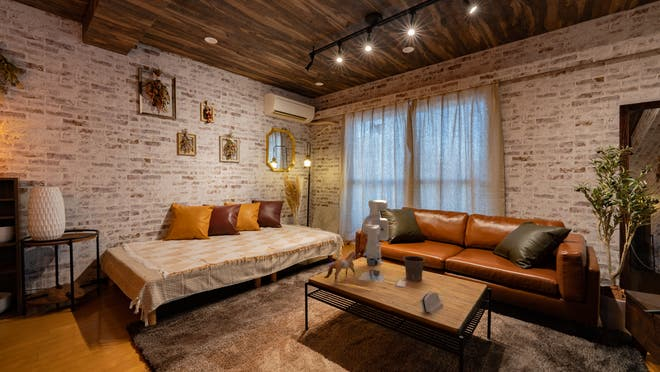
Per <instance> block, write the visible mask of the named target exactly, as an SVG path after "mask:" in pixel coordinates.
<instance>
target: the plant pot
mask: <svg viewBox="0 0 660 372" xmlns="http://www.w3.org/2000/svg"><path fill="white" fill-rule="evenodd" d="M403 261H404V262H403V263H404V267H405V278H406V279H407V280H409V281H411V282H420V281H422V280H423V271H424V265H425V258H424V257H421V256H416V255H407V256H403Z"/></svg>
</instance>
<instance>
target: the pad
mask: <svg viewBox="0 0 660 372" xmlns="http://www.w3.org/2000/svg"><path fill="white" fill-rule="evenodd" d="M407 283H408V281H407V280H399V279H398V280H397V281H396V284H395V285H394V287H397V288H398V287H399V288H403V289H405V288H406V286H407Z"/></svg>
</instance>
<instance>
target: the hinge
mask: <svg viewBox="0 0 660 372" xmlns="http://www.w3.org/2000/svg"><path fill="white" fill-rule="evenodd" d="M420 303H421V307H422V312H423V313H429V315H432V314H434V313H436V312H437V311H438V310H440V309H442V308H443V307H444V303H443V302H442V301H441V298H440V296H439V293H438V292H436V291H435V292H433V291H430V292H427V293H425V294H424V295H423V296H422V297H421V298H420Z"/></svg>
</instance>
